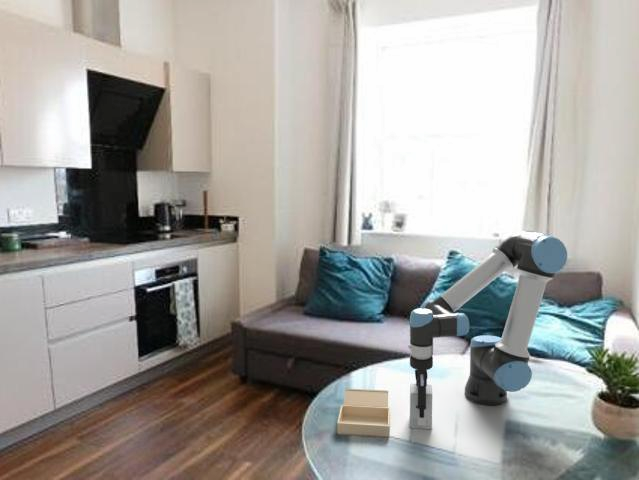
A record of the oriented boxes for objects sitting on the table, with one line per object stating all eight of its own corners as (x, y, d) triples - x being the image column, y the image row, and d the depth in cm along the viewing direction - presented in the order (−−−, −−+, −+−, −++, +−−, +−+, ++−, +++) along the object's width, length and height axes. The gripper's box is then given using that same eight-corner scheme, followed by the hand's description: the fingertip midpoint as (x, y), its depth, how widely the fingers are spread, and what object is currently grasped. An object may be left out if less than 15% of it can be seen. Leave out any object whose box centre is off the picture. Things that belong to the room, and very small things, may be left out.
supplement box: (432, 429, 159) (432, 394, 157) (409, 428, 161) (409, 392, 159) (431, 418, 166) (432, 384, 164) (410, 416, 168) (410, 382, 166)
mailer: (389, 418, 167) (389, 407, 166) (389, 437, 155) (389, 426, 155) (341, 415, 170) (341, 404, 169) (337, 434, 158) (337, 423, 157)
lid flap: (387, 406, 167) (387, 407, 167) (388, 390, 174) (388, 391, 174) (343, 404, 169) (343, 405, 170) (345, 388, 176) (345, 389, 177)
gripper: (409, 343, 170) (409, 403, 174) (410, 367, 150) (410, 434, 154) (430, 344, 169) (430, 404, 172) (435, 368, 149) (434, 436, 153)
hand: (420, 418), depth 163 cm, fingers closed on supplement box, 7 cm apart
